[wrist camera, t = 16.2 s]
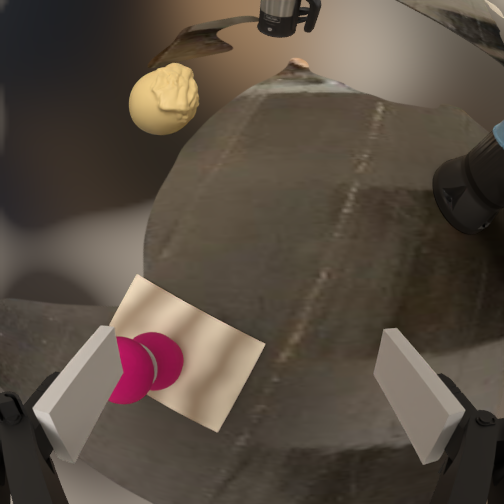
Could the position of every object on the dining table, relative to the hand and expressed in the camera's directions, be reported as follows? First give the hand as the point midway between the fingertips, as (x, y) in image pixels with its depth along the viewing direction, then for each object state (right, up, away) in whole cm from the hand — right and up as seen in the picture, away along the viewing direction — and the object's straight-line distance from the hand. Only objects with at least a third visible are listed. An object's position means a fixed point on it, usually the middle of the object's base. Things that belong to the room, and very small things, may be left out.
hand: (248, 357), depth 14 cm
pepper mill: (-12, -9, +25) cm, 29 cm away
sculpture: (-15, +29, +38) cm, 50 cm away
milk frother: (+9, +61, +48) cm, 78 cm away
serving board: (-10, -9, +27) cm, 30 cm away
